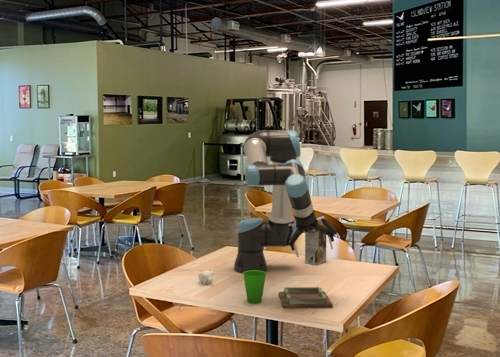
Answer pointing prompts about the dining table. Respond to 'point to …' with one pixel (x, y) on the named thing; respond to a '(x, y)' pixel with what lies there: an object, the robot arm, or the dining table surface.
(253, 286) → the cup
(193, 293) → the dining table surface
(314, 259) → the coffee box
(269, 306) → the dining table surface
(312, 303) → the jig cradle
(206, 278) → the elephant figurine
